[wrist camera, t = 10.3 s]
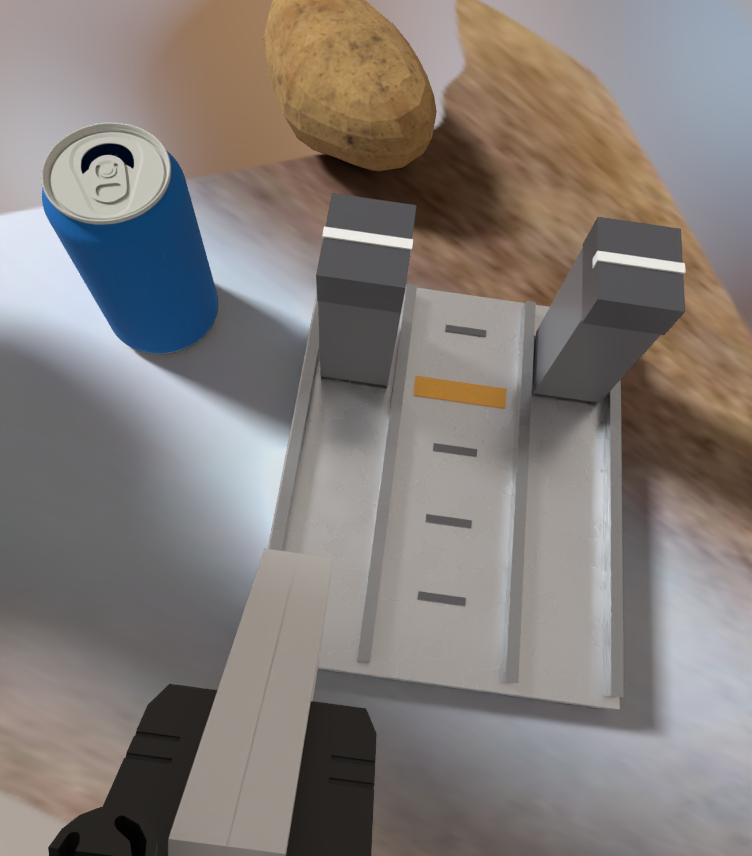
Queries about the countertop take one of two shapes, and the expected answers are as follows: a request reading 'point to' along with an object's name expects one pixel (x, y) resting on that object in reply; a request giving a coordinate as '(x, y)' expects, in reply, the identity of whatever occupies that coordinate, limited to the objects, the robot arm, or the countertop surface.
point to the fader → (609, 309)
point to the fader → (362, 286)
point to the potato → (349, 82)
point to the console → (461, 511)
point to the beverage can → (131, 234)
